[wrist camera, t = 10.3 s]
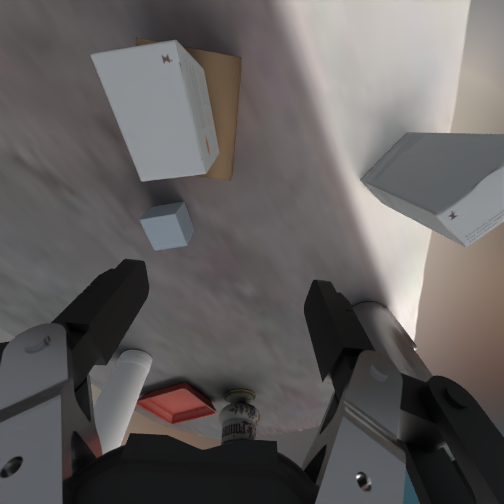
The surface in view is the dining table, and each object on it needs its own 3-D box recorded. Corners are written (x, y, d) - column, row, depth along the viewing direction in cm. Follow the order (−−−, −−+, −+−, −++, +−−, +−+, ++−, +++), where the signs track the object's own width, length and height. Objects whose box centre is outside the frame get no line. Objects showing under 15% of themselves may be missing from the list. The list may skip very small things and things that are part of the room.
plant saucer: (137, 391, 64) (132, 403, 61) (186, 376, 60) (183, 389, 57) (174, 413, 73) (171, 424, 70) (218, 401, 69) (217, 413, 66)
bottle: (147, 347, 52) (54, 567, 26) (157, 365, 56) (85, 568, 31) (115, 350, 52) (-8, 570, 27) (127, 367, 56) (31, 571, 31)
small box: (151, 76, 21) (84, 48, 12) (205, 68, 21) (175, 33, 12) (175, 160, 26) (138, 183, 17) (220, 154, 25) (207, 175, 17)
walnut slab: (241, 65, 24) (241, 57, 21) (232, 173, 31) (230, 180, 27) (151, 48, 23) (135, 37, 20) (161, 163, 30) (151, 169, 26)
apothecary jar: (234, 382, 62) (231, 468, 47) (266, 393, 66) (272, 474, 51) (213, 398, 67) (204, 480, 52) (244, 407, 71) (244, 485, 56)
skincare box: (380, 202, 33) (462, 254, 21) (357, 178, 31) (433, 219, 18) (431, 156, 30) (568, 185, 17) (409, 126, 27) (547, 133, 15)
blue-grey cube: (184, 201, 32) (175, 213, 28) (194, 230, 35) (187, 245, 31) (152, 206, 32) (139, 219, 28) (165, 234, 35) (154, 250, 31)
